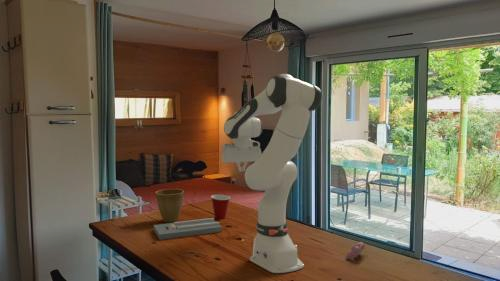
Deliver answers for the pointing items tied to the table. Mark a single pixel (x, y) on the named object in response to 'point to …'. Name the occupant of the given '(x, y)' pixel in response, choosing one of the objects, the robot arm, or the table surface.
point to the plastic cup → (220, 205)
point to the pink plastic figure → (355, 251)
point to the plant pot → (170, 203)
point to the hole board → (187, 228)
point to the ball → (171, 227)
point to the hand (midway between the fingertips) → (241, 170)
